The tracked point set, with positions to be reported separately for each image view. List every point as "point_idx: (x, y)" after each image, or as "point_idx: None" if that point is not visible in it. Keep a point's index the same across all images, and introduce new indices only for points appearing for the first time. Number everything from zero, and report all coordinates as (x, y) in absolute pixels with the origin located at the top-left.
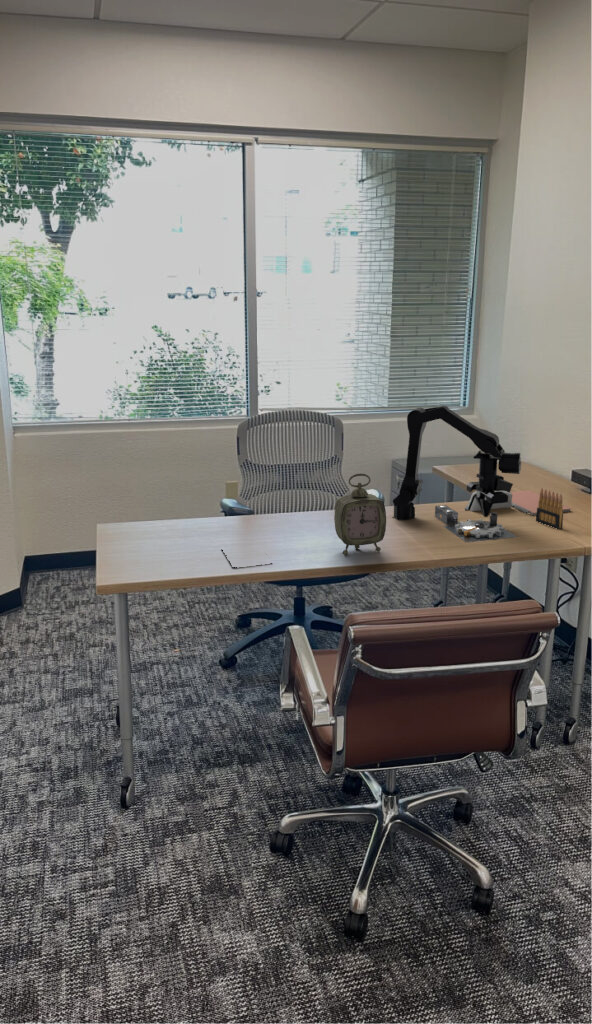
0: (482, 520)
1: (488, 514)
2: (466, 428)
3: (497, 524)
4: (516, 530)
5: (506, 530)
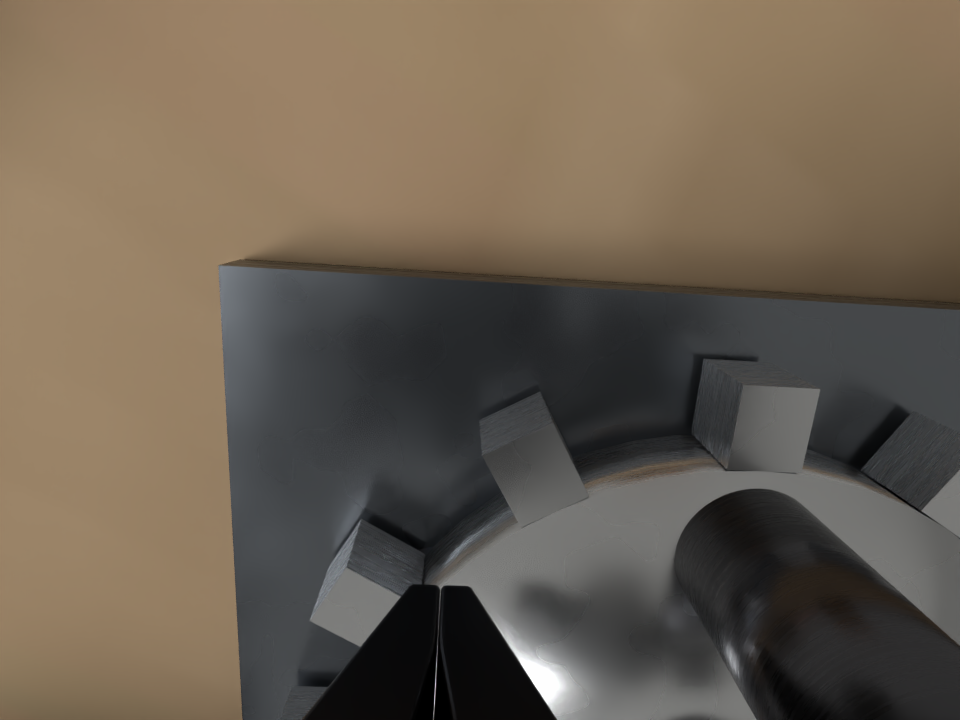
0: (372, 572)
1: (495, 627)
2: None
3: (765, 469)
4: (771, 21)
5: (853, 313)
